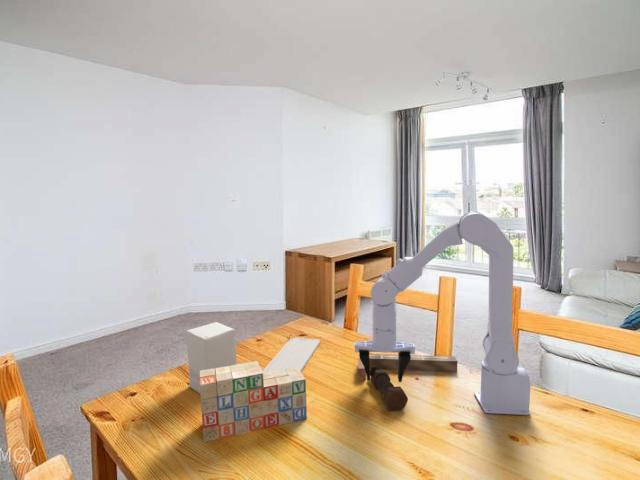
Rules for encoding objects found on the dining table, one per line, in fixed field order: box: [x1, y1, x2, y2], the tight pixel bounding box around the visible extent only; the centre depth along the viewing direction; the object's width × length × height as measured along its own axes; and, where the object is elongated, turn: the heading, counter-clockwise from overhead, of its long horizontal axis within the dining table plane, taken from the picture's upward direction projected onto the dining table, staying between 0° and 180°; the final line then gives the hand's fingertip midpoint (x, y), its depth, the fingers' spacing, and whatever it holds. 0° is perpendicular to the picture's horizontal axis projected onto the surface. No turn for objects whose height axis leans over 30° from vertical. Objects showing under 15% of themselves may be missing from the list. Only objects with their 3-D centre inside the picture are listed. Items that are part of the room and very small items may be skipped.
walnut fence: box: [357, 353, 458, 381], centre depth 98 cm, size 26×9×3 cm, turn 84°
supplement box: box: [185, 321, 238, 394], centre depth 92 cm, size 9×9×15 cm
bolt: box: [370, 367, 409, 413], centre depth 88 cm, size 6×5×15 cm
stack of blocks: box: [199, 360, 308, 443], centre depth 77 cm, size 21×6×12 cm, turn 108°
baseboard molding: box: [262, 334, 322, 373], centre depth 106 cm, size 31×3×12 cm
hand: (384, 379), depth 91 cm, fingers open, 7 cm apart
